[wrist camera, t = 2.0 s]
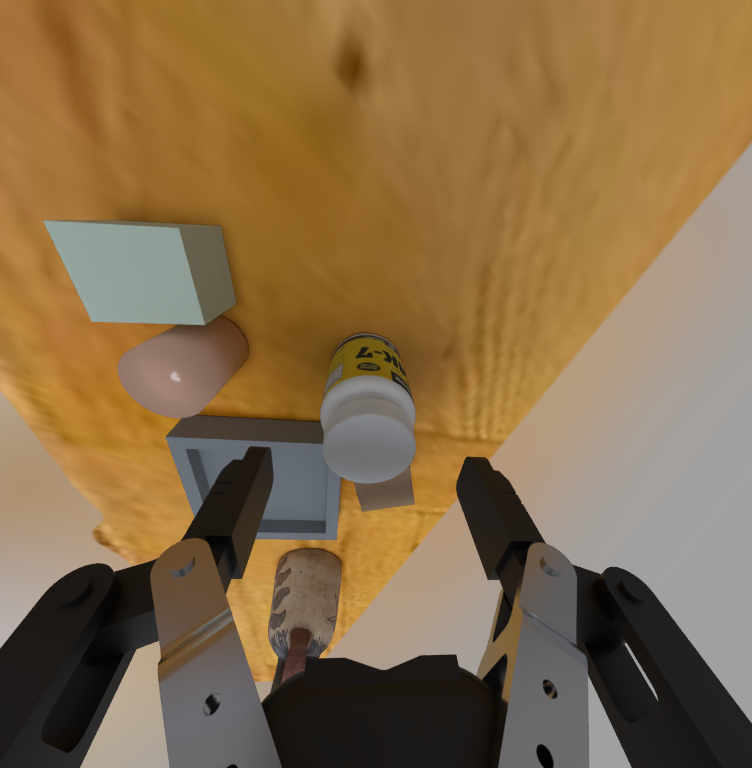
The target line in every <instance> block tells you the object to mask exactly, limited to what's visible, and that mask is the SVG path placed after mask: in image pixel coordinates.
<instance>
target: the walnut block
mask: <svg viewBox="0 0 752 768" xmlns="http://www.w3.org/2000/svg"><path fill="white" fill-rule="evenodd" d="M354 485H355V489H356V492H357V496H358V499H359V502H360V506H361V509H362V512H363V511H370V510H377V509H384V508H392V507H399V506H406V505H413V504H415V502H414V495H413V487H412V479H411V471H410V465H409V466H408V467H407V469H406V470H404V471H403V472H402V473H401V474H399V475H397V476H396V477H394V478H392V479H389V480H386V481H383V482H378V483H357V482H354Z"/></svg>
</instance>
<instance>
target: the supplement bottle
mask: <svg viewBox="0 0 752 768" xmlns="http://www.w3.org/2000/svg"><path fill="white" fill-rule="evenodd" d="M415 417H416V416H415V406H414V402H413V398H412V395H411V391H410V388H409V384H408V381H407V378H406V374H405V371H404V368H403V364H402V361H401V358H400V355H399V353H398V351H397V349H396V348H395V346H394V345H393V344H392V343H391V342H390V341H388V340H387V339H385V338H383V337H381V336H378V335H375V334H368V333H363V334H357V335H354V336H351V337H349V338H347V339H346V340H344V341H343V342H342V343H341V344H340V345H339V346H338V347H337V348H336V350H335V352H334V354H333V356H332V360H331V365H330V369H329V373H328V378H327V382H326V387H325V391H324V396H323V400H322V405H321V411H320V419H321V425H322V428H323V430H324V439H323V456H324V459H325V462H326V463H327V465H328V466H329V468H330V469H331V470H332V471H333V472H334V473H336V474H337V475H338V476H340V477H342V478H344V479H347V480H349V481H353V482H357V483H378V482H383V481H386V480H389V479H392V478H394V477H396V476H397V475H399V474H401V473H402V472H403V471H404V470H406V469H407V467H408V466H409V465H410V464H411V462H412V460H413V458H414V455H415V450H416V444H415V438H414V429H413V427H414V424H415Z"/></svg>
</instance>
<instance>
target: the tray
mask: <svg viewBox="0 0 752 768" xmlns="http://www.w3.org/2000/svg"><path fill="white" fill-rule="evenodd" d="M323 439H324V430H323V428H322V425H321V422H311V421H293V420H274V419H256V418H238V417H219V416H201V415H194V416H191V417H186V418H182V419H181V420H180V421H179V422H178V423H177V425H176V426H175V427H174V428H173V429H172V430H171V431H170V432H169V433H168V435H167V436H166V440H167V442H168V445H169V448H170V451H171V453H172V456H173V459H174V462H175V464H176V467H177V470H178V473H179V475H180V478H181V481H182V484H183V487H184V489H185V492H186V495H187V498H188V500H189V503H190V506H191V509H192V511H193V514H194V517H195V516H196V514H197V513H198V511H199V509H200V507H201V505H202V504H203V502H204V500H205V498H206V497H207V495H209V491H210V490H211V488H212V486H213V484H215V481H216V479H217V477H218V475H219V474H220V472H221V470H222V469H223V468H224V467H225V466H226V465H228V464H229V463H230V462H231V461H232V460H233V459H237V460H242V459H243V457H244V455H245V453H246V451H247V449H248V448H249V447H250V446H258V447H270V448H271V452H272V462H273V472H274V480H273V486H272V490H271V493H270V496H269V499H268V502H267V505H266V508H265V511H264V514H263V517H262V520H261V523H260V526H259V529H258V532H257V535H256V538H255V539H297V540H337V528H338V514H339V499H340V484H341V477H340V476H338V475H337V474H336V473H334V472H333V471H332V470H331V469H330V468H329V466H328V465H327V463H326V462H325V459H324V456H323Z"/></svg>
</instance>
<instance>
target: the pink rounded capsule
mask: <svg viewBox="0 0 752 768" xmlns="http://www.w3.org/2000/svg"><path fill="white" fill-rule="evenodd" d="M247 357H248V345H247V341H246V339H245V337H244V335H243V334H242V332H241V331H240V330H239V328H238V327H237V326H236V325H234V324H233V323H232V322H231V321H229V320H227V319H226V318H224V317H222V316H218V317H216V318H215V319H213V320H212V321H210V322H209V323H207V324H206V325H188V324H178V325H176V326H174V327H172V328H170V329H168V330H166V331H164V332H162V333H161V334H159V335H157V336H155V337H153V338H151V339H149V340H147V341H145V342H143V343H142V344H140V345H138V346H136V347H134V348H132V349H130V350H128V351H127V352H126V353H124V355H123V356H122V357H121V359H120V361H119V364H118V374H119V378H120V380H121V383H122V385H123V387H124V388H125V390H126V391H127V392H128V393H129V395H130V396H131V397H132V398H133V399H134V400H135V401H137V402H138V403H139V404H140V405H142V406H143V407H145V408H147V409H148V410H150V411H152V412H155V413H157V414H160V415H163V416H167V417H172V418H186V417H191V416H194V415H196V414H198V413H199V412H200V411H202V410H203V409H204V408H205V406H206V405H207V404H208V403H209V402H210V401H211V400H212V399H213V398H214V397H215V395H216V394H217V393H218V392H219V391H220V390H221V389H222V388H223V387H224V385H225V384H226V383H227V382H228V381H229V380H230V379H231V378H232V377H233V376H234V374H235V373H236V372H237V371H238V370H239V369H240V368H241V367H242V366H243V364H244V363H245V362H246V360H247Z"/></svg>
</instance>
